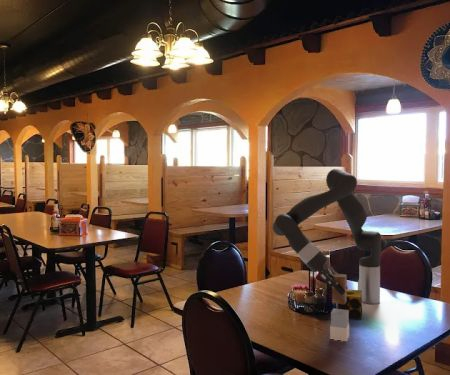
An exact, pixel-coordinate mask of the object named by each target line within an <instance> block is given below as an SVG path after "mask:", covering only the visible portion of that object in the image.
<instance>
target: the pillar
mask: <svg viewBox="0 0 450 375" xmlns="http://www.w3.org/2000/svg"><path fill="white" fill-rule="evenodd" d="M334 277H335V280H336V281H337V282H338V284H340V285H341V287H342V288H343V289H344V290H345V291H346V292H345V293H344V294H343V295H340V294H339V293H338V291H337V290H336V289H335V288H333V287H332V288H331V303H332V304H336V305H337V304H345V303H346V301H347V287H348V284H347V281H348V279H347V278H348V274H345V273H338V274H334Z"/></svg>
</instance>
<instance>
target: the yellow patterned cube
mask: <svg viewBox="0 0 450 375" xmlns="http://www.w3.org/2000/svg"><path fill="white" fill-rule="evenodd" d="M336 309H342V310H349V320H359V321H362V318H363V303H362V290H358V289H347V301H346V303H345V304H337V303H336Z"/></svg>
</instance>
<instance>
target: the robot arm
mask: <svg viewBox="0 0 450 375" xmlns="http://www.w3.org/2000/svg"><path fill="white" fill-rule="evenodd" d="M325 183H326V187H327V188H328V189H329V190H327V191H324V192H322V193H317V194H314V195H311V196H307V197H305V198H304V199H301V201H299V202H298V203H296V204H295V205H293V206H292V207H291V208H290V210H289V211H287V212H286V213H281V214H279V215H277V216H276V218H275V220H274V221H273V224H272V230H273V232H274V234H275V235H276V236H280V237H285V238H286V239H287V241H288V245H289V246H290V247H291V249H292V250H293V251H294V252H295V254H297V256H298V257H299V258H300V260H301V261H302V262H303V263H304V264H305V265H306V266H307V268H308V269H310V270H311V271H312V273H316V272H318V273H319V275H320V276H319V278H320V280H322V281H323V282H324V283H325V284H326V285H327V286H329V287H330V288H331V289H332V287H333V288H335V289H336V290H337V291H338V293H339V294H340V295H343V294H344V293H345V292H346V291H345V290H344V289H343V288H342V287H341V285H340V284H338V282H337V281H336V280H335V277H334V274H339V272H337V270H336V269H335V268H334V267H333V265H328V264H327V262H328V260H329V259H328V257H326V255H325V254H324V253H323V252H322V251H321V250H320V249H319V248H318V247H317V246H316V245H315V244H314V243H313V242H312V241H311V240H310V239H309V238H308V237H307V235H305V234H304V233H303V232H302V229H301V228H300V227H299V225H300V224H301V223H302V222H305V221H306V220H308V219H309V218H310V217H311V216H312V215H314V214H316V213H317V212H319V211H321V210H322V209H324V208H326V207H328V206H329V205H332V204H334V203H335V202H337V204H338V207H339V208H340V210H341V213H342V215H343V217H344V219H345V221H346V223H347V225H348V227H349V229H350V231H351V234H352V237H353V240H354V242H355V245H356V247H357V249H359V250H361V251H366V252H370V255H369V256H364V257H360V258H359V261H358V263H359V268H358V270H359V274H358V275H359V279H358V280H357V290H362V304H367V305H378V304H379V303H380V302H381V254H382V253H381V252H382V236H381V233H380V232H379V231H371V230H370V231H369V230H364V229H363V226H364V225H365V223H366V222H367V218H368V216H367V215H368V214H367V212H366V209H365V207H364V205H363V203H362V202H361V201H360V200H359V198H358V197H356V195H355V194H354V193H353V192H354V191H355V190H356V188H357V185H358V184H357V183H358V180H357V178H356V176H355V175H353V174H351V173H349V172H347V171H345V170H343V169H339V168H333V169H331V170H330V171H328V172H327V175H326V179H325ZM348 288H349V287H348V286H347V289H348ZM348 290H349V289H348Z"/></svg>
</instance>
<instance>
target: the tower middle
mask: <svg viewBox="0 0 450 375" xmlns="http://www.w3.org/2000/svg"><path fill="white" fill-rule="evenodd" d="M349 320H350V319H349V310H342V309H337V308H333V309H332V310H331V312H330V326H333V327H340V328H347V326H348V323H349V324H350V321H349Z"/></svg>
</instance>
